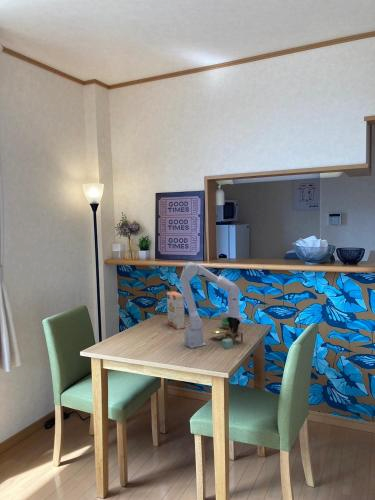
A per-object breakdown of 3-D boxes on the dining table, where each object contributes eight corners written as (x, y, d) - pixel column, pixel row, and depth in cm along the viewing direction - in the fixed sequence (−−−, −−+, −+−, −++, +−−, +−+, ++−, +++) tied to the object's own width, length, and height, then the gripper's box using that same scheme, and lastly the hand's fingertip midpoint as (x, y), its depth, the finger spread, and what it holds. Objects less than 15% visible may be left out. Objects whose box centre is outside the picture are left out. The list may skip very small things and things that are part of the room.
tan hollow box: (233, 343, 216) (232, 330, 216) (225, 340, 222) (225, 327, 221) (242, 341, 220) (242, 328, 219) (235, 338, 225) (234, 325, 225)
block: (226, 349, 210) (226, 341, 210) (221, 347, 214) (221, 339, 213) (232, 347, 212) (232, 340, 212) (228, 345, 216) (228, 338, 215)
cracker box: (167, 324, 261) (166, 291, 259) (176, 323, 263) (175, 290, 261) (176, 329, 248) (175, 295, 246) (185, 328, 251) (184, 294, 249)
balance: (215, 342, 222) (214, 333, 222) (207, 338, 229) (207, 330, 229) (242, 336, 231) (242, 328, 230) (234, 332, 238) (233, 325, 237)
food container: (217, 329, 246) (216, 313, 245) (221, 326, 251) (220, 310, 250) (236, 331, 240) (235, 314, 239) (240, 328, 245) (239, 312, 244)
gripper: (247, 307, 215) (248, 333, 216) (232, 302, 227) (232, 326, 229) (236, 309, 211) (237, 335, 213) (221, 304, 224) (222, 328, 225)
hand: (234, 331), depth 220 cm, fingers closed on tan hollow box, 2 cm apart
